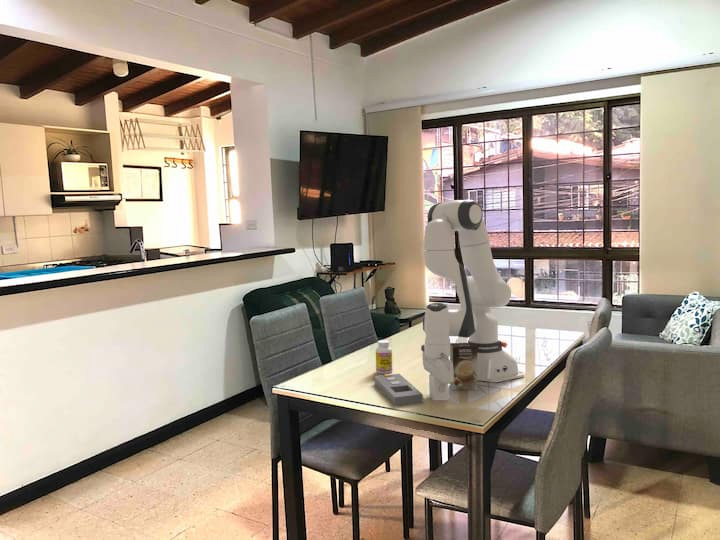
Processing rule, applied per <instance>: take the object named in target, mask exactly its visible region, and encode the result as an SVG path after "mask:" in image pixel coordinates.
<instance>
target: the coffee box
mask: <svg viewBox="0 0 720 540" xmlns="http://www.w3.org/2000/svg"><path fill="white" fill-rule="evenodd" d="M450 351H451V355H450V356H449V360H451V362H452V364H453V372H454V381H453V383H450V384H449V386H450V387H451V389H452V390H454V391H457V390H459V391H460V390H463V389H464V390H477V389H478V380H477V346H476V344H474V343H468V342H450Z"/></svg>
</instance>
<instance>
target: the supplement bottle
mask: <svg viewBox="0 0 720 540" xmlns="http://www.w3.org/2000/svg"><path fill="white" fill-rule="evenodd" d="M375 371H376V373H377V374H380V375H384V374H392V372H393V349H392V348H391V346H390V340H388V339H387V340H386V339H380V340H378V341H377V347H376V348H375Z"/></svg>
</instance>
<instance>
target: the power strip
mask: <svg viewBox="0 0 720 540" xmlns="http://www.w3.org/2000/svg"><path fill="white" fill-rule="evenodd" d="M373 380H374V385H375V386H376V387H377V388H378V389H379V390H380V391H381V392H382V394H383V395H384V396H385V397H386V398H387V399H388V400H389V401H390V402H391V404H392V405H393V406H395V407H396V406H398V407H399V406H404V405H405V406H406V405H415V403H416V404H421V403H422V404H423V403H424V398H423V396H424V395H423V393H422V392H421V391H419V389H417V388H416V387H415V386H414V385H413V384H412V383H411V382H410V381H408V380H407V379H406V378H405V377H404V376H403V375H401V374H400V373H388V374H381V375H375V376H374V379H373Z"/></svg>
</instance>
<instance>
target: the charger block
mask: <svg viewBox="0 0 720 540" xmlns="http://www.w3.org/2000/svg"><path fill="white" fill-rule="evenodd" d="M428 374H429V375H428V380H429V381H428V387H429V388H428V390H429V397H430V398H431V400H432V401H434V402H435V401H444V400H449V384H446V386H445V392H440V391H439V386H440V383H439V380H438V379H437V378H436V377H434V376H433V375H432V374H430V373H428Z"/></svg>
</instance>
